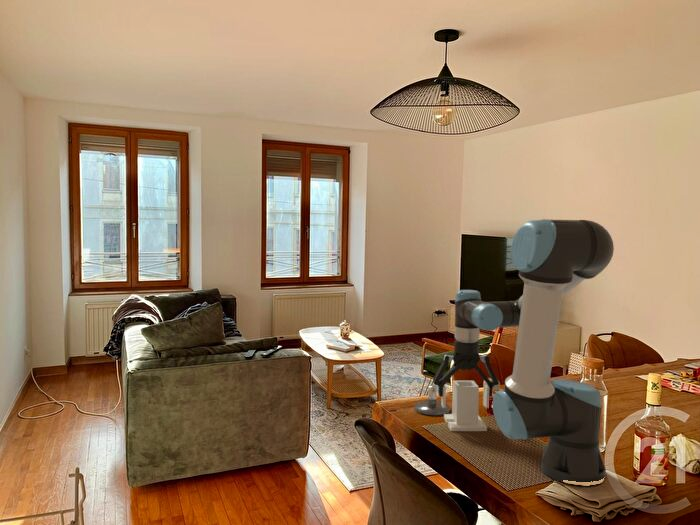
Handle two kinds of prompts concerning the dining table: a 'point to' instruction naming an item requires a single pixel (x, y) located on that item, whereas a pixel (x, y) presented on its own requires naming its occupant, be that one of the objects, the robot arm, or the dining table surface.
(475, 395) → the flange
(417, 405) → the post base
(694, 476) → the dining table surface
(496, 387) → the candle
